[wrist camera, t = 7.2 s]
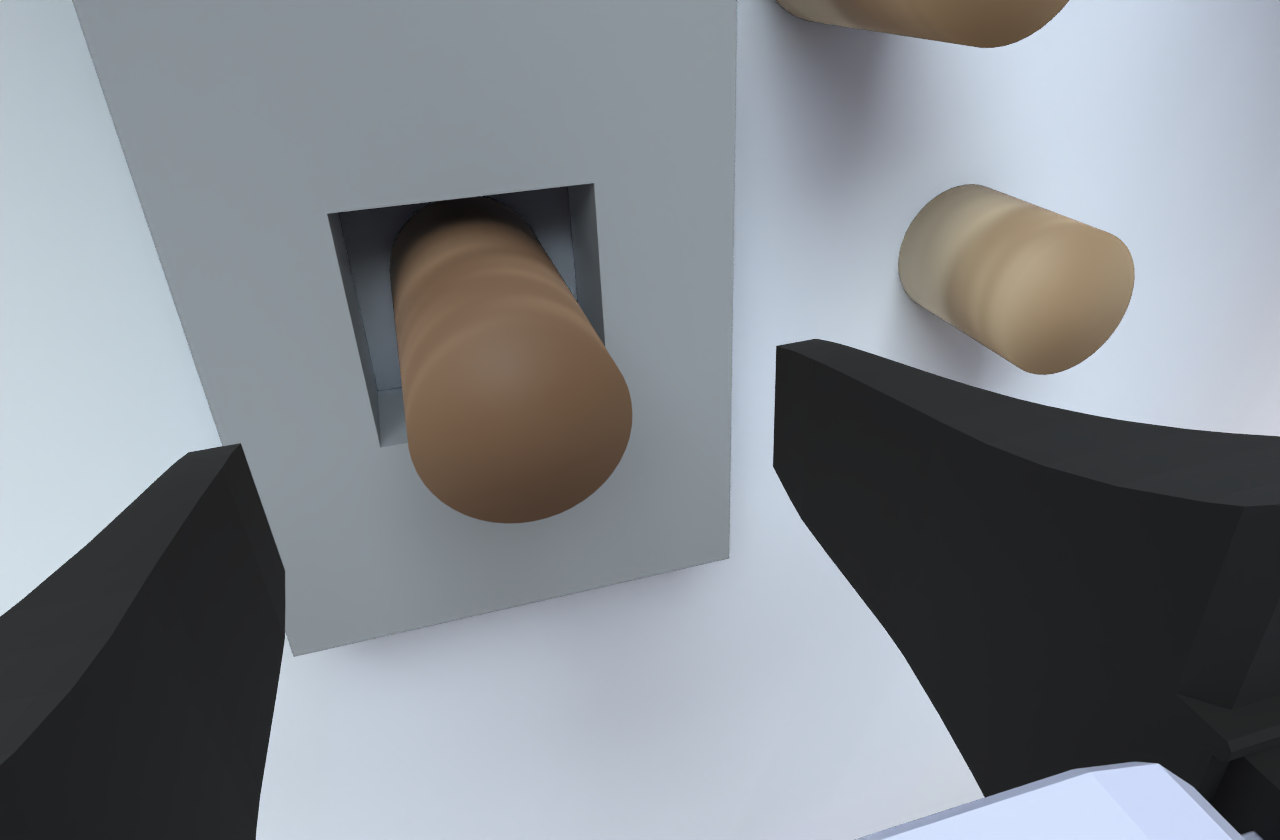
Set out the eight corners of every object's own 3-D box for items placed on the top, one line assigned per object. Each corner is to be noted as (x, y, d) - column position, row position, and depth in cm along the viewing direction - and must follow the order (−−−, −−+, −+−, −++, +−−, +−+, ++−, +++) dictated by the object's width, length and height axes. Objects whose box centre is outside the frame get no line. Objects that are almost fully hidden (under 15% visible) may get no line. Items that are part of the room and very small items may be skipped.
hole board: (687, -123, 15) (739, -134, 13) (694, 501, 22) (729, 558, 20) (84, -103, 13) (33, -114, 11) (300, 583, 20) (293, 656, 18)
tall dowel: (537, 188, 17) (629, 311, 12) (548, 331, 19) (634, 502, 13) (376, 202, 17) (388, 341, 11) (402, 350, 18) (425, 541, 12)
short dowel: (1022, 177, 21) (1151, 221, 17) (999, 300, 22) (1113, 362, 19) (906, 192, 20) (1017, 240, 17) (891, 317, 22) (990, 385, 18)
